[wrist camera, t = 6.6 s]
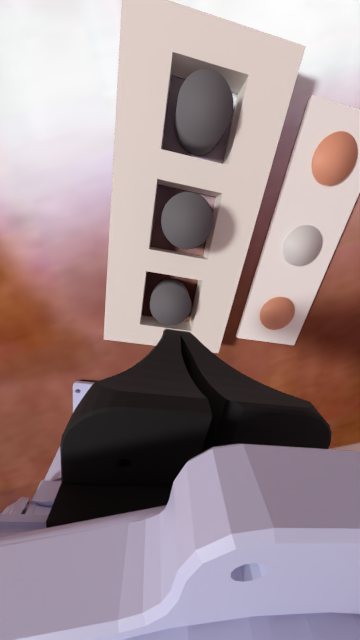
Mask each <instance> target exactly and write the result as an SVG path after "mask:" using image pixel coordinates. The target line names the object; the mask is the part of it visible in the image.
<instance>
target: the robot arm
mask: <svg viewBox="0 0 360 640" xmlns="http://www.w3.org/2000/svg"><path fill="white" fill-rule="evenodd" d="M77 389H79V390H80V391H79V390H77ZM330 442H331V430H330V427H329V424H328V423H327V422H326V421H325V420H324V418H323V417H322V416H321V415H320V413H319V412H318V411H317V410H316V409H315V407H314V406H313V405H312V404H311V403H310V402H308V401H306V400H303V399H300V398H297V397H294V396H291V395H288V394H286V393H283V392H280V391H278V390H275V389H273V388H271V387H268V386H266V385H264V384H262V383H259V382H257V381H255V380H253V379H251V378H250V377H248V376H246V375H244V374H242V373H240V372H239V371H237V370H235V369H234V368H232V367H231V366H229V365H228V364H226V363H225V362H224V361H222V360H221V359H220V358H218V357H217V356H216V355H215V354H213V353H212V352H211V351H210V350H209V349H208V348H207V347H205V346H204V345H203V344H202V343H201V342H200V341H199V340H198V339H197V338H196V337H195V336H194V335H193V334H192V333H190V332H187V331H179V330H172V329H165V330H164V331H163V335H162V337H161V339H160V341H159V342H158V344H157V345H156V346H155V347H154V349H153V350H152V351H151V352H150V353H149V354H148V355H147V356H146V357H145V358H144V359H143V360H141V361H140V362H139V363H137V364H136V365H135V366H133V367H132V368H130V369H128V370H126V371H124V372H122V373H120V374H117V375H115V376H112V377H109V378H106V379H103V380H100V381H97V382H86V381H76V382H75V383H74V385H73V414H72V416H71V418H70V420H69V422H68V424H67V426H66V429H65V431H64V433H63V435H62V439H61V445H60V447H59V450H58V452H57V454H56V456H55V458H54V460H53V462H52V465H51V467H50V469H49V471H48V473H47V475H46V477H45V480H42V481H41V482H40V484H39V486H38V488H37V491H36V493H35V495H34V497H33V499H32V501H31V503H30V504H29V501H30V498H27V497H21V498H19V499H18V500H17V502H15V503H13V504H11V505H10V506H8V507H7V508H6V509H5V510H4V511H3V513H2V514H0V640H360V452H356V451H351V450H334V449H328V447H329V445H330Z"/></svg>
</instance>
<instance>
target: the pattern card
mask: <svg viewBox="0 0 360 640" xmlns="http://www.w3.org/2000/svg"><path fill="white" fill-rule="evenodd" d="M359 193H360V109H357V108H354V107H351V106H347V105H344V104H341V103H338V102H334V101H331V100H328V99H324V98H321V97H318V96H314V95H312V96H311V97H310V98H309V100H308V103H307V107H306V110H305V113H304V116H303V119H302V123H301V126H300V129H299V132H298V136H297V139H296V142H295V145H294V149H293V152H292V155H291V158H290V162H289V165H288V168H287V171H286V175H285V178H284V181H283V184H282V188H281V191H280V194H279V197H278V201H277V204H276V207H275V210H274V214H273V217H272V220H271V223H270V227H269V230H268V233H267V236H266V240H265V243H264V246H263V249H262V252H261V256H260V259H259V262H258V265H257V269H256V272H255V275H254V278H253V282H252V285H251V288H250V291H249V295H248V298H247V301H246V304H245V308H244V311H243V314H242V317H241V321H240V324H239V327H238V330H237V334H236V337H237V338H242V339H250V340H257V341H265V342H273V343H280V344H288V345H295V342H296V340H297V338H298V335H299V333H300V331H301V328H302V326H303V324H304V321H305V319H306V317H307V314H308V312H309V310H310V307H311V305H312V302H313V300H314V298H315V295H316V293H317V291H318V288H319V286H320V284H321V281H322V279H323V277H324V274H325V272H326V270H327V267H328V265H329V263H330V260H331V258H332V256H333V253H334V251H335V249H336V246H337V244H338V242H339V239H340V237H341V235H342V232H343V230H344V228H345V225H346V223H347V221H348V218H349V216H350V214H351V211H352V209H353V207H354V204H355V202H356V200H357V197H358V195H359Z"/></svg>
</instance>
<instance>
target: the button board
mask: <svg viewBox="0 0 360 640" xmlns="http://www.w3.org/2000/svg"><path fill="white" fill-rule="evenodd" d="M305 47H306V46H303V45H300V44H297V43H294V42H291V41H288V40H285V39H282V38H279V37H276V36H273V35H270V34H267V33H264V32H261V31H258V30H255V29H252V28H249V27H246V26H243V25H240V24H238V23H235V22H232V21H229V20H226V19H223V18H220V17H217V16H214V15H211V14H208V13H205V12H202V11H199V10H196V9H193V8H190V7H187V6H184V5H181V4H178V3H175V2H172V1H169V0H122V10H121V29H120V47H119V66H118V84H117V103H116V121H115V139H114V158H113V176H112V195H111V213H110V232H109V250H108V269H107V287H106V305H105V324H104V339H105V340H113V341H121V342H130V343H138V344H146V345H155V346H156V345H157V344H158V342H159V341H160V339H161V337H162V335H163V331H164V330H165V329H172V330H179V331H187V332H190V333H192V334H193V335H194V336H195V337H196V338H197V339H198V340H199V341H200V342H201V343H202V344H203V345H204V346H205V347H207V348H208V349H209V350H210V351H211V352H213V353H219V349H220V346H221V342H222V339H223V335H224V332H225V328H226V325H227V321H228V318H229V314H230V311H231V307H232V304H233V300H234V296H235V293H236V289H237V286H238V282H239V279H240V275H241V272H242V268H243V265H244V261H245V258H246V254H247V251H248V247H249V244H250V240H251V237H252V233H253V230H254V226H255V223H256V219H257V216H258V212H259V209H260V205H261V202H262V198H263V194H264V191H265V187H266V184H267V180H268V177H269V173H270V170H271V166H272V163H273V159H274V156H275V152H276V149H277V145H278V142H279V138H280V135H281V131H282V128H283V124H284V121H285V117H286V114H287V110H288V107H289V103H290V99H291V96H292V92H293V89H294V85H295V82H296V78H297V75H298V71H299V68H300V64H301V61H302V57H303V54H304V50H305ZM199 69H212V70H214V71H216V72H218V73H220V74H221V75H222V76H223V77H224V78H225V80H226V81H227V83H228V85H229V87H230V89H231V92H232V93H236V94H238V96H237V100H236V105H235V110H234V114H233V119H232V124H231V128H230V133H229V138H228V143H227V147H226V152H225V157H224V161H223V164H221V163H217V162H212V161H208V160H204V159H200V158H196V157H192V156H188V155H184V154H179V153H175V152H171V151H167V150H163V149H162V147H163V139H164V130H165V122H166V114H167V106H168V98H169V90H170V82H171V75H174V76H177V77H181V78H184V79H186V78H187V77H188V76H189V75H190V74H192V73H193V72H195V71H197V70H199ZM158 184H159V185H164V186H169V187H173V188H178V189H182V190H187V191H191V192H196V193H200V194H205V195H210V196H214V197H216V199H215V204H214V208H213V213H212V214H213V227H212V230H211V233H210V235H209V237H208V238H207V241H206V246H205V251H204V255H203V256H199V255H194V254H188V253H182V252H177V251H171V250H166V249H160V248H155V247H150V245H151V237H152V228H153V220H154V212H155V204H156V196H157V188H158ZM147 271H148V272H154V273H160V274H166V275H172V276H178V277H184V278H190V279H196V280H198V283H197V288H196V293H195V297H194V302H193V307H192V312H191V316H190V321H189V322H187V321H183V322H181V323H179V324H176V325H165V324H162V323H160V322H159V321H157V320H156V319H155V318H154V317H151V316H143V315H142V310H143V302H144V294H145V286H146V277H147Z"/></svg>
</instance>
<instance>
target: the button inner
mask: <svg viewBox="0 0 360 640" xmlns="http://www.w3.org/2000/svg"><path fill="white" fill-rule="evenodd" d="M150 311H151V313H152V315H153V317H154V318H155V319H156V320H157V321H159V322H160V323H162V324H165V325H176V324H179V323H181V322H183V321H184V320H185V319H186V318H187V317H188V315H189V314H190V311H191V299H190V297H189V294H188V291H187V289H186V287H185V285H184V284H183V283H182V282H180V281H179V280H176V279H172V278H167V279H163V280H161V281H159V282H158V283H157V284H156V285H155V286H154V288H153V290H152V294H151V300H150Z"/></svg>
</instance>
